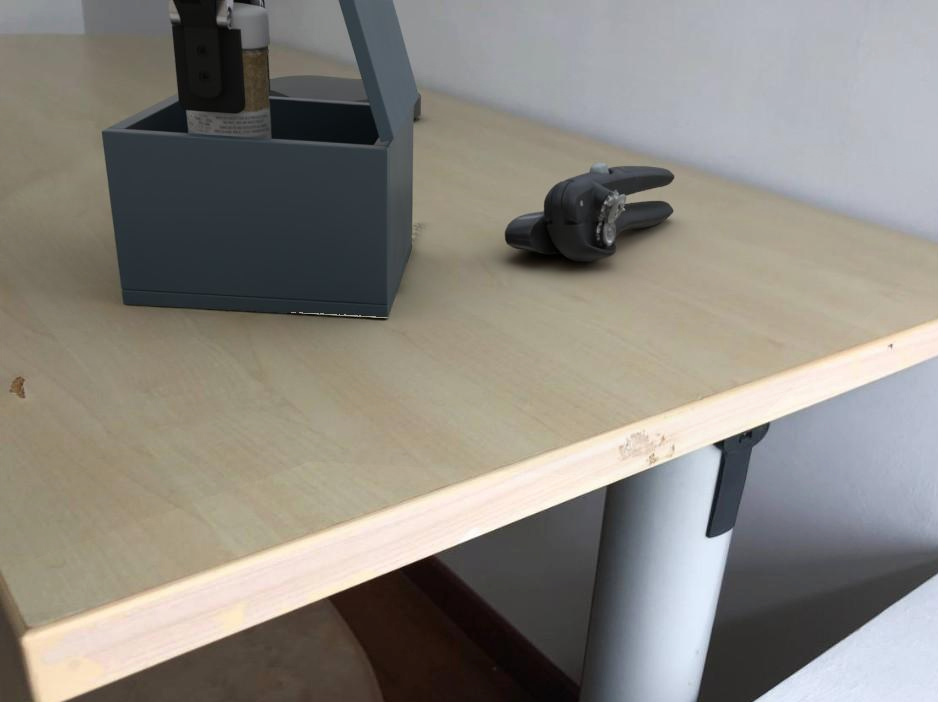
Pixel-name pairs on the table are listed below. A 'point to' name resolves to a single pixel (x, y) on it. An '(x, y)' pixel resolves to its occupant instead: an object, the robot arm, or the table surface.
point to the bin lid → (381, 62)
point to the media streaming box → (324, 89)
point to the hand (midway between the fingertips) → (227, 98)
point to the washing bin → (262, 210)
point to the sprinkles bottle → (256, 82)
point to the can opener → (591, 212)
